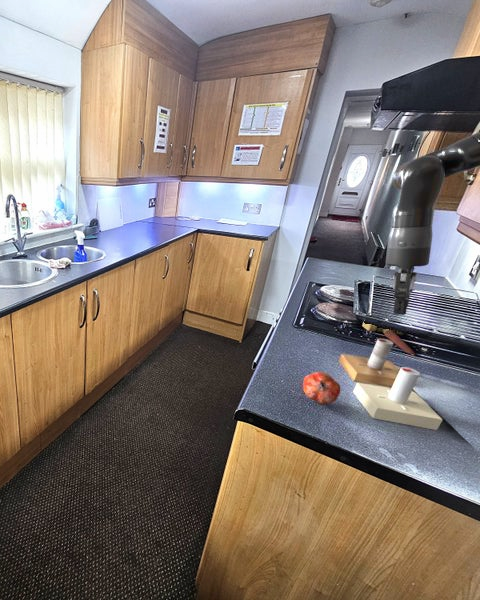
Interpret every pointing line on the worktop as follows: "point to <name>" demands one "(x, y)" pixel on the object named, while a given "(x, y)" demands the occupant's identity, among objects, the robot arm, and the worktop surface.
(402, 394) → the rod
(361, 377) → the brown wooden block
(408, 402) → the cream base plate
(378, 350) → the rod
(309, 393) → the pomegranate
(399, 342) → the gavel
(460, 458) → the worktop surface
